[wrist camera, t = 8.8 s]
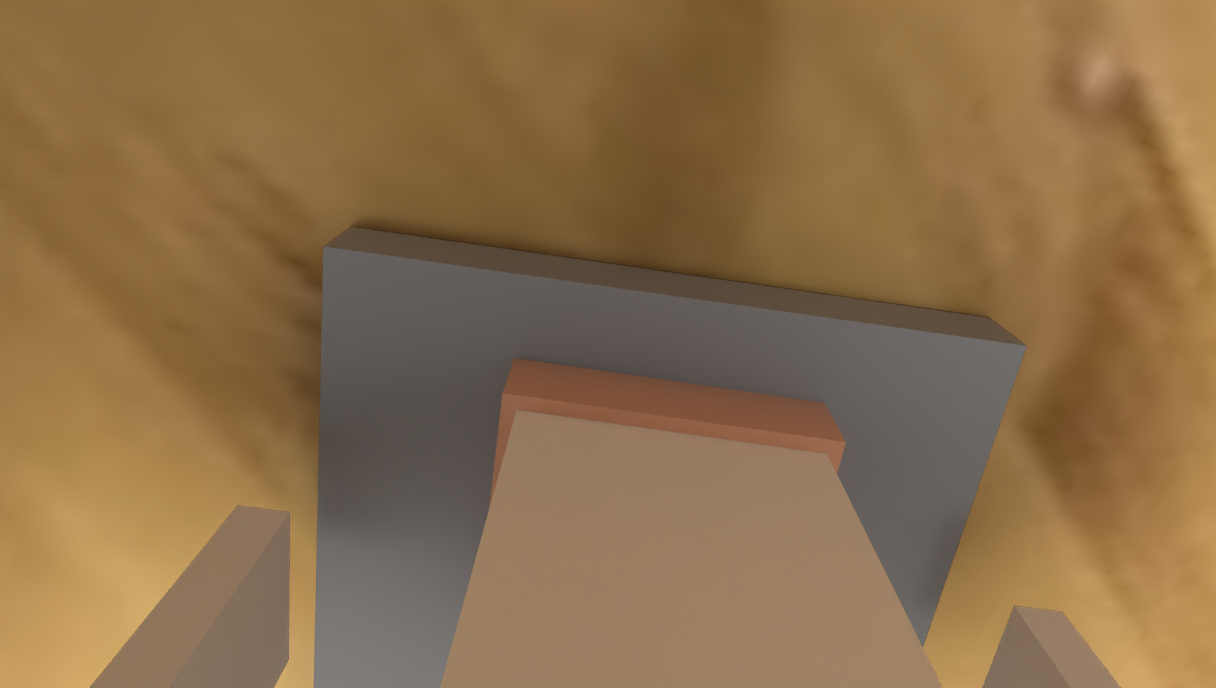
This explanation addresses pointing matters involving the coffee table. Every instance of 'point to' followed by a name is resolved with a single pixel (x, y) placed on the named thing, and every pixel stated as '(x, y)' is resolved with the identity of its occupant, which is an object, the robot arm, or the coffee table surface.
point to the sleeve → (673, 546)
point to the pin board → (615, 342)
